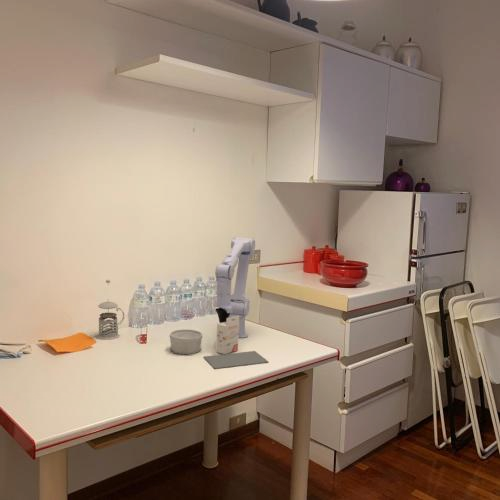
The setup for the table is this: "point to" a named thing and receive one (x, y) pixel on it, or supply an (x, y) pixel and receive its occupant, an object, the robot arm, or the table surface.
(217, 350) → the ink cartridge box
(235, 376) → the table surface
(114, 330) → the french press
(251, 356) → the mat
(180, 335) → the ramekin
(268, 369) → the table surface
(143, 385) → the table surface
